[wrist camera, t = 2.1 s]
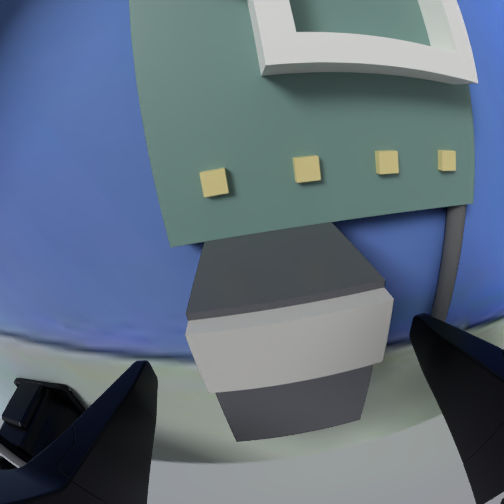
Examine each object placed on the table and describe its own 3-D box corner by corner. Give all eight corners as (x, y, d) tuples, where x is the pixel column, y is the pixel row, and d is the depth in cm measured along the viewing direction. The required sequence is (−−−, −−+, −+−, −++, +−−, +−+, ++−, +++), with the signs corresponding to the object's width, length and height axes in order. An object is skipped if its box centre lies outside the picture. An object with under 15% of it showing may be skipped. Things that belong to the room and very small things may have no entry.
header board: (457, 196, 11) (494, 213, 8) (176, 235, 11) (160, 266, 8) (395, -75, 4) (417, -94, 2) (137, -74, 4) (121, -101, 2)
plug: (325, 329, 13) (363, 429, 8) (235, 344, 13) (236, 453, 8) (321, 212, 11) (395, 291, 5) (208, 229, 11) (182, 328, 5)
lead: (432, 339, 14) (439, 349, 13) (419, 344, 14) (426, 354, 13) (457, 135, 10) (470, 137, 9) (443, 134, 10) (456, 136, 9)
